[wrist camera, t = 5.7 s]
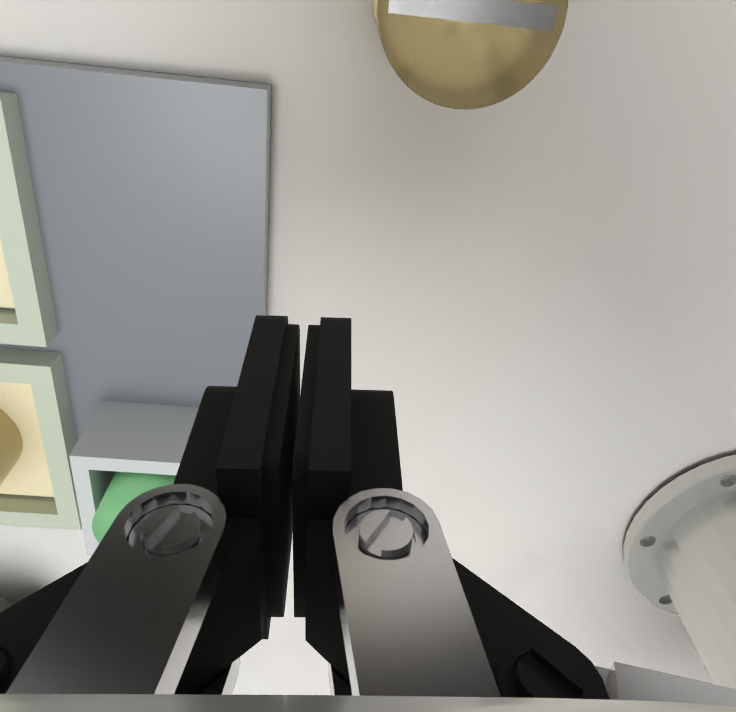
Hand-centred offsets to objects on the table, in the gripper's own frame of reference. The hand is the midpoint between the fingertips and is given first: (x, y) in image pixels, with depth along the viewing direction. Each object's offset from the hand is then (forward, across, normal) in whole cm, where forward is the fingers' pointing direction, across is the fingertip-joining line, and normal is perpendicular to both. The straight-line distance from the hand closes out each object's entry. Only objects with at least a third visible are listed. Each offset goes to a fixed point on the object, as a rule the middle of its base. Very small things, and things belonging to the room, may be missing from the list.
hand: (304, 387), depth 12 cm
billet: (+16, -4, -6) cm, 18 cm away
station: (+16, +13, +9) cm, 23 cm away
